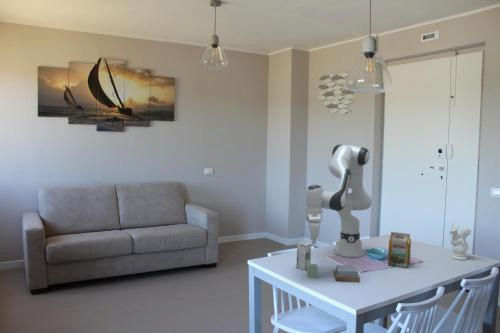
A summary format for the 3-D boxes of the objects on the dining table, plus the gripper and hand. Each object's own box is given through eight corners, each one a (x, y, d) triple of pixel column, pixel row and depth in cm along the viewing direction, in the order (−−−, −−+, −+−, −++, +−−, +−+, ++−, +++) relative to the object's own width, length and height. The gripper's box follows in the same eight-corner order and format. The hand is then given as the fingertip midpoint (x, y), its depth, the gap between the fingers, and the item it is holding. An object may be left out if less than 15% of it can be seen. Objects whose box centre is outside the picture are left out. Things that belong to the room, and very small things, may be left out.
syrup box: (301, 265, 255) (302, 241, 254) (310, 267, 251) (311, 242, 250) (296, 268, 251) (296, 242, 250) (305, 270, 247) (305, 244, 246)
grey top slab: (335, 270, 239) (335, 265, 239) (354, 271, 239) (354, 265, 239) (338, 276, 229) (338, 271, 229) (357, 277, 229) (358, 271, 229)
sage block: (307, 274, 239) (307, 263, 239) (316, 275, 239) (316, 264, 239) (307, 277, 234) (307, 266, 234) (317, 278, 234) (317, 267, 234)
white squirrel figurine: (471, 260, 271) (474, 224, 269) (456, 262, 266) (458, 226, 264) (455, 254, 282) (458, 220, 280) (440, 256, 278) (442, 222, 276)
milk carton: (388, 265, 257) (389, 233, 256) (391, 261, 266) (392, 230, 265) (407, 268, 252) (408, 235, 251) (410, 263, 261) (411, 232, 260)
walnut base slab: (333, 275, 241) (333, 269, 241) (356, 276, 240) (356, 270, 240) (336, 282, 229) (336, 277, 229) (359, 283, 228) (359, 278, 228)
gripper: (306, 212, 245) (306, 237, 246) (308, 219, 224) (308, 246, 225) (318, 213, 244) (317, 237, 245) (321, 219, 224) (320, 246, 225)
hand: (313, 242), depth 235 cm, fingers open, 8 cm apart
